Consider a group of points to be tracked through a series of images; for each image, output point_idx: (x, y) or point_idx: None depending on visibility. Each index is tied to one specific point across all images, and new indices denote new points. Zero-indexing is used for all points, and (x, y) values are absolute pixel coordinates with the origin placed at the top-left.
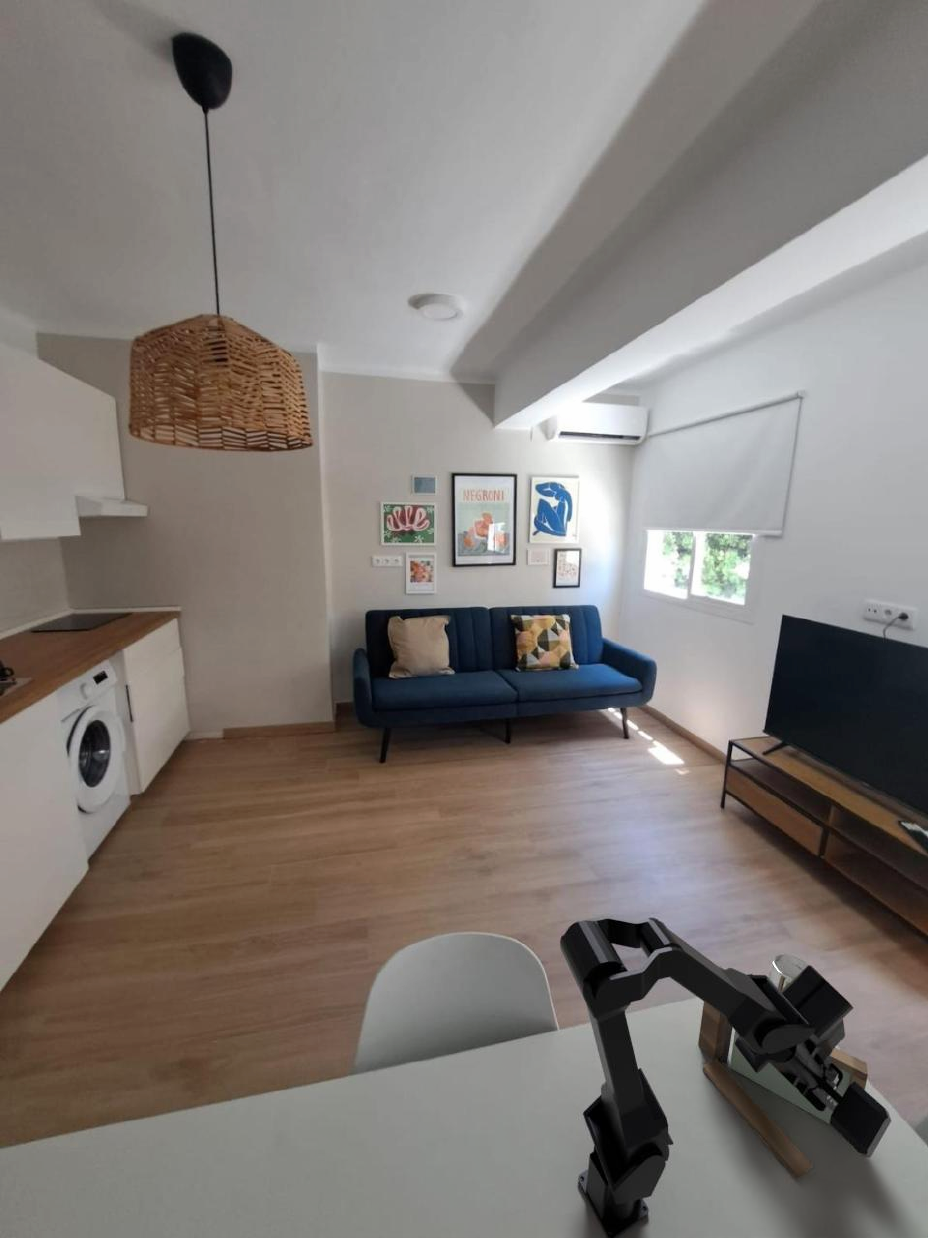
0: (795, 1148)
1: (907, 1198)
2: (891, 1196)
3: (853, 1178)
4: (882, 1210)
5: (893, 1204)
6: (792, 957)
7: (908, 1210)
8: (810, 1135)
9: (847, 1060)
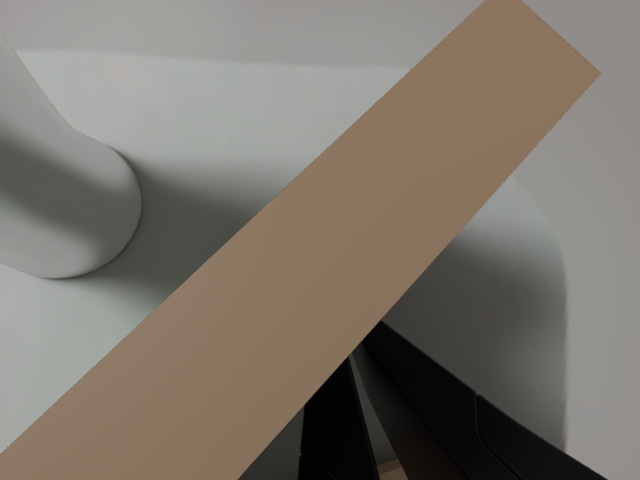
0: (400, 477)
1: (513, 206)
2: (507, 246)
3: (465, 319)
4: (533, 303)
5: (522, 258)
6: None
7: (535, 230)
8: (353, 360)
9: (472, 132)
